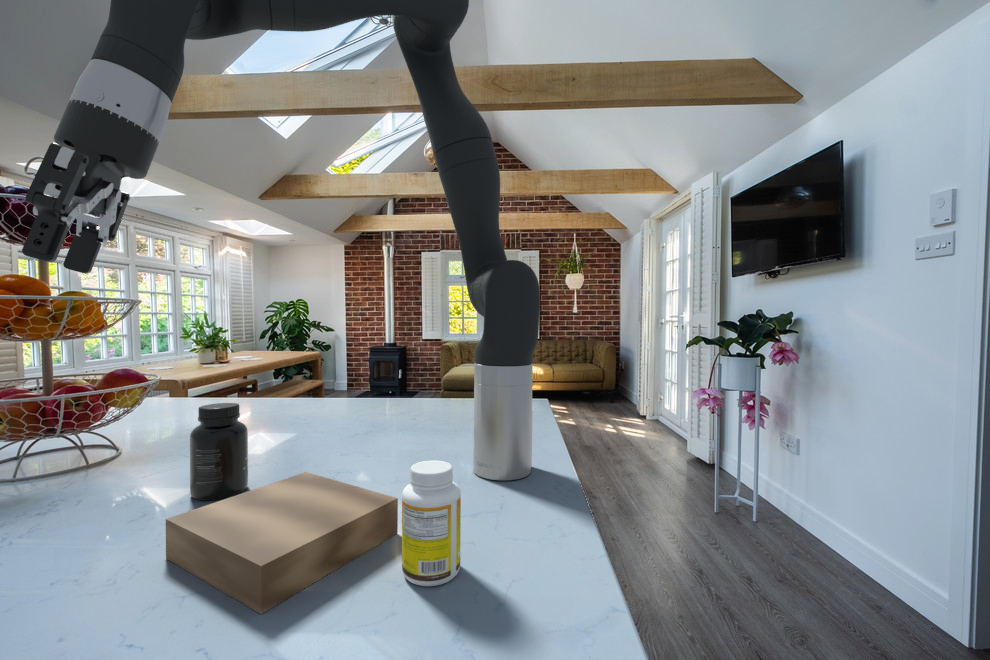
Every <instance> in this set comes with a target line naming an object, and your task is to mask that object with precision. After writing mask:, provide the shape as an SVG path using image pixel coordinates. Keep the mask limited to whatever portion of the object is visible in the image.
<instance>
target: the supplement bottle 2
mask: <svg viewBox="0 0 990 660" xmlns="http://www.w3.org/2000/svg"><path fill="white" fill-rule="evenodd" d="M409 473H410V474H409V475H410V476H409V481H410V483H408V484H407V485H406V486H404V489H402V494H401V555H402V556H401V567H402V574H403V576H404V578H406V580H407V581H408V582H410V583H412V584H414V585H417V586H419V587H420V586H421V587H437V586H441V585H443V584H446V583H448V582H450V581H451V580H453V579H454V578H455V577H456V576H457V574H458V573H459V571H460V570H461V569H460V568H461V527H462V526H461V502H462V501H461V498H462V497H461V488H460V486H459V484H458V483H456V482H455V481H453V479H454V474H453V466H452V464H451V463H449V462H447V461H443V460H432V459H431V460H424V461H419V462H416V463H414V464H412V465H411V467H410V472H409Z"/></svg>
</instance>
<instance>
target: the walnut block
mask: <svg viewBox="0 0 990 660" xmlns="http://www.w3.org/2000/svg"><path fill="white" fill-rule="evenodd" d="M398 502H399V498H398V497H395V496H391V495H388V494H384V493H380V492H377V491H373V490H370V489H367V488H365V487H364V488H363V487H361V486H356V485H353V484H349V483H346V482H343V481H338V480H336V479H332V478H329V477H326V476H325V477H324V476H322V475H318V474H314V473H312V472H308V471H305V472H302V473H299V474H296V475H293V476H289V477H287V478H284V479H281V480H278V481H275V482H272V483H269V484H266V485H263V486H260V487H258V488H254V489H251V490H248V491H245V492H241V493H239V494H236V495H234V496H231V497H227V498H223V499H220V500H219V501H218V500H217V501H216V502H212V503H209V504H206V505H203V506H201V507H198V508H194V509H191V510H189V511H186V512H183V513H179V514H176V515H173V516H171V517H167V518H165V559H166V560H168V561H169V562H171V563H173V564H174V565H176V566H178V567H179V568H182V569H183V570H184V571H186V572H188V573H190V574H191V575H194V576H195V577H197V578H198V579H199V580H201V581H204V582H205V583H206V584H209V585H210V586H212V587H214V588H216V589H217V590H218V591H221V592H222V593H224V594H225V595H227V596H229V597H231V598H232V599H235V600H236V601H238V602H240V603H241V604H243V605H245V606H247V607H248V608H249V609H252V610H253V611H255V612H256V613H259V614H260V615H263V614H264V613H266V612H267V611H270V610H271V609H273V608H274V607H276V606H277V604H278V605H279V604H282V602H285V601H286V600H288V599H291V597H292V596H295V595H296V594H298V593H301V591H304V590H305V589H306V588H308V587H310V586H311V585H313V584H314V582H315V583H316V582H318V581H320V580H322V579H323V578H324V576H325V577H327V576H328V575H330V574H332V573H334V572H335V571H336V570H338V569H340V568H342V567H343V566H345V565H346V564H348V563H350V562H352V561H353V560H355V559H357V558H358V557H360V556H362V555H363V554H365V553H367V552H368V551H371V550H372V549H374V548H375V547H378V546H379V545H381V544H382V543H384V542H386V541H387V540H388V539H390V538H392V537H394V536H395V535H397V534H398V532H399V531H398V528H399V527H398V525H399V522H398V520H399V519H398V518H399V517H398V516H399V515H398V514H399V511H398V509H399V503H398ZM329 573H330V574H329ZM327 574H328V575H327ZM326 575H327V576H326ZM322 577H323V578H322ZM321 578H322V579H321ZM317 580H318V581H317ZM312 583H313V584H312ZM304 588H305V589H304Z"/></svg>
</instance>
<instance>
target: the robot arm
mask: <svg viewBox="0 0 990 660" xmlns="http://www.w3.org/2000/svg"><path fill="white" fill-rule="evenodd" d="M469 4H470V0H110V5H109V6H110V7H109V14H108V18H107V23H106V26H105V28H104V29H103V31H102V33H101V35H100V37H99V40H98V42H97V44H96V47H95V49H94V51H93V54H92V56H91V59H90V60H89V62H88V63H87V66H86V68H85V69H84V70H83V71H82V73H81V74H80V75H79V78H78V80H77V82H76V84H75V86H74V88H73V91H72V93H71V95H70V98H69V100H68V102H67V105H66V108H65V110H64V112H63V113H62V117H61V119H60V122H59V124H58V126H57V127H56V131H55V133H54V136H53V141H54V142H51V143H50V144H49V146H48V147H47V150H46V152H45V154H44V156H43V158H42V161H41V163H40V164H39V167H38V169H37V171H36V174H35V176H34V178H33V180H32V182H31V184H30V186H29V188H28V190H27V192H26V195H25V203H27V204H29V205H33V207H32V213H33V215H35V217H34V220H33V223H32V225H31V226H30V227H31V228H30V230H29V232H28V234H27V236H26V239H25V241H24V244H23V246H22V249H21V253H22V254H23V255H24V256H27V257H29V258H32V259H37V260H40V261H43V262H47V263H53V262H55V261H57V259H58V258H59V257H58V256H59V254H60V252H61V249H62V247H63V244H64V242H65V239H66V236H67V235H68V232H69V229H70V226H69V225H71V224H72V223H73V222H74V221H75V220H76V227H75V229H76V230H75V232H76V233H75V234H76V235H74V237H73V239H72V241H71V243H70V247H69V249H68V251H67V254H66V256H65V259H64V261H63V265H62V266H63V267H64V268H65V269H67V270H69V271H73V272H77V273H81V274H84V275H85V274H90V273H91V272H92V270H93V267H94V265H95V263H96V260H97V258H98V255H99V253H100V249H101V247H102V245H103V244H106V243H107V242H108V241H110V242H113V241H114V240H115V239H116V238H117V234H118V230H119V229H120V228H119V227H120V225H121V222H122V219H123V217H124V213H125V211H126V208H127V205H128V203H129V201H130V193H128V192H126V191H122V190H120V189H121V186H122V185H121V184H122V179H123V178H130V179H134V180H141V179H144V178H145V177H147V175H148V172H149V169H150V167H151V164H152V163H153V160H154V157H155V156H156V155H155V154H156V152H157V150H158V147H159V144H160V142H161V138H162V136H163V133H164V132H165V129H166V125H167V123H168V120H169V114H170V113H169V112H170V110H171V109H170V108H171V106H172V103H173V101H174V98H175V95H176V93H177V90H178V88H179V85H180V83H181V80H182V76H183V73H184V69H185V42H186V40H192V41H194V40H195V41H201V40H202V41H205V40H211V39H217V38H222V37H228V36H233V35H239V34H242V33H246V32H249V31H255V30H259V31H261V30H262V31H271V32H272V31H274V32H275V31H276V32H277V31H278V32H299V33H301V32H302V33H303V32H315V31H322V30H327V29H331V28H335V27H339V26H342V25H345V24H348V23H351V22H354V21H359V20H363V19H369V18H374V17H380V16H381V17H383V16H384V17H385V16H391V19H392V21H391V23H392V27H393V30H394V34H395V37H396V38H395V39H396V40H397V43H398V47H399V48H400V51H401V53H402V55H403V59H404V61H405V64H406V66H407V70H408V72H409V75H410V76H411V80H412V82H413V86H414V88H415V90H416V94H417V98H418V100H419V101H418V102H419V105H420V109H421V113H422V116H423V120H424V123H425V127H426V130H427V133H428V137H429V142H430V145H431V146H430V147H431V150H432V154H433V158H434V161H435V165H436V169H437V173H438V176H439V180H440V183H441V185H442V188H443V193H444V195H445V199H446V203H447V206H448V210H449V214H450V216H451V220H452V223H453V225H454V226H453V227H454V229H455V232H456V236H457V239H458V244H459V248H460V254H461V259H462V265H463V271H464V277H465V282H466V283H465V284H466V288H467V293H468V294H467V295H468V298H469V301H470V303H471V304H472V307H473V309H474V310H475V311H476V312H477V313H478V314H479V315H480V316H481V317H483V331H482V335H481V338H480V340H479V341H478V343H476V345H475V348H474V356H473V357H474V360H473V361H474V365H473V367H474V368H473V369H474V370H473V371H474V373H473V376H474V379H473V380H474V382H473V384H474V385H473V386H474V387H473V468H472V469H473V473H474V474H475V475H476V476H478V477H480V478H484V479H487V480H493V481H514V480H515V481H516V480H520V479H524V478H526V477H528V476H529V475H530V474H531V473H532V466H533V465H532V463H533V458H532V457H533V360H534V359H533V358H534V357H533V356H534V352H535V350H536V348H537V344H538V341H539V340H538V339H539V329H540V326H539V325H540V311H541V310H540V309H541V292H540V291H541V289H540V284H539V280H538V277H537V275H536V273H535V271H534V270H533V268H531V267H530V265H528V264H527V263H526V262H524V261H521V260H517V259H508V258H507V256H506V255H507V254H506V251H505V249H504V245H503V242H502V236H501V229H500V200H501V174H500V167H499V162H498V158H497V155H496V150H495V146H494V142H493V139H492V135H491V131H490V129H489V127H488V124H487V123H486V122H485V119H484V118H483V117H482V115H481V113H480V112H479V111H478V109H477V108H476V107H475V106H474V105H473V104H472V101H470V99H468V97H467V96H466V95H465V93H464V91H463V90H462V88H461V85H460V84H459V80H458V77H457V74H456V70H455V66H454V62H453V56H452V52H451V40H452V39H453V37H454V36H455V35H456V33H457V32H458V30H459V28H460V27H461V26H462V24H463V23H464V20H465V19H466V17H467V14H468V11H469V6H470V5H469ZM97 225H98V226H97Z"/></svg>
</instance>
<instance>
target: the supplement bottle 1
mask: <svg viewBox="0 0 990 660" xmlns="http://www.w3.org/2000/svg"><path fill="white" fill-rule="evenodd" d="M239 418H241V413H240V403H238V402H237V403H235V402H222V403H211V404H210V403H209V404H205V405H204V404H203V405H202V406H201V405H200V406H199V407H198V417H197V421H198V423H199V422H200V424H199V425H197V426H195V428H193V429H192V431H191V432H190V434H189V491H190V492H189V493H190V496H191V498H193V499H194V500H198V501H214V500H217V501H218V500H224V499H227V498H230V497H233V496H236V495H239V494H242V493H243V492H244V491H245V490H246V489H247V487H248V485H249V435H248V431H249V430H248V427H247V425H246V424H245V423H243V422H241V421H239Z"/></svg>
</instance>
